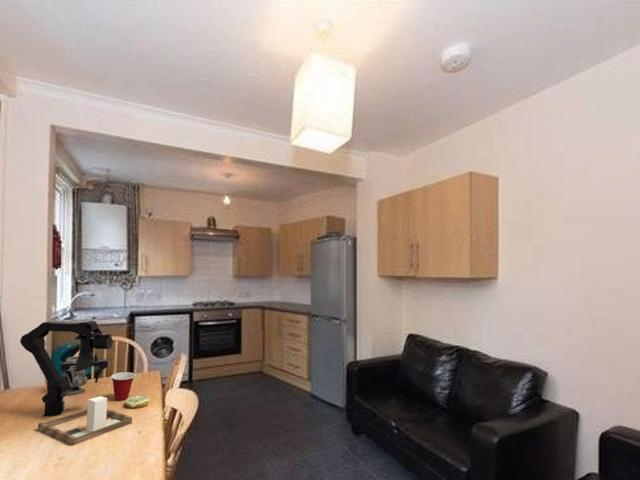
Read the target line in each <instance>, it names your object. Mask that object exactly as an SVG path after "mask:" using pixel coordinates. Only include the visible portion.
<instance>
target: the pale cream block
mask: <svg viewBox="0 0 640 480" xmlns="http://www.w3.org/2000/svg"><path fill="white" fill-rule="evenodd" d="M108 400H109V399H108V398H107V397H105V396H102V395H100V396H96V397H92V398H89V399H88V400H87V409H86V410H87V415H86V425H85V426H86V427H85V430H87V431H89V432H93V431H95V430H98V429H101V428H104V427H106V422H107V419H106V417H107V416H106V414H107V409H108Z"/></svg>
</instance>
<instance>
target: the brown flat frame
mask: <svg viewBox="0 0 640 480" xmlns="http://www.w3.org/2000/svg"><path fill="white" fill-rule="evenodd" d="M85 416H86V417H87V409H84V410H82V411H79V412H75V413H74V412H73V413H71V414H69V415H65V416H62V417H59V418H55V419H52V420H49V421H46V422H39V423H37V430H38V431H40V432H42V433H44V434H47V435H48V436H50V437H51V436H52V437H53V438H55V439H58V440H60V441H63V442H64V443H66V444H69V445H71V446H75V445H78V444H81V443H83V442H87V441H88V440H91V439H94V438H96V437H99V436H103V435H104V434H107V433H111V431H115V430H117V429H120V428H123V427H126V426H128V425H131V424H133V416H131V415H127V414H125V413H121V412H119V411H115V410H113V409H110V408H107V414H106V420H108V419H109V418H111V419H113V420H115V419H118V420H120V422H117V423H114V424H112V425H109V426H106V427H104V428H101V429H98V430H95V431H93V432H90V433H87V434H84V435H82V436H79V437H75V436H73V434H75V433H78V432H81V431H83V430H82V429H80V428H73V429H71V430H70V429H69V430H67V431H64V430H60V429H58V428H56V427H54V426H57V425H61V424H63V423H66V422H70V421H72V420H76V419H79V418H81V417H85Z"/></svg>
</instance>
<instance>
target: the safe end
mask: <svg viewBox="0 0 640 480" xmlns="http://www.w3.org/2000/svg"><path fill="white" fill-rule="evenodd" d="M117 422H120V420H118V419H112V420H108V421H106V426H109V425H112V424H114V423H117ZM87 433H90V432H89V431H87V430H86V429H84V430H82V431H81V432H78V433H75V434H73V436H75V437H79V436H82V435H84V434H87Z"/></svg>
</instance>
